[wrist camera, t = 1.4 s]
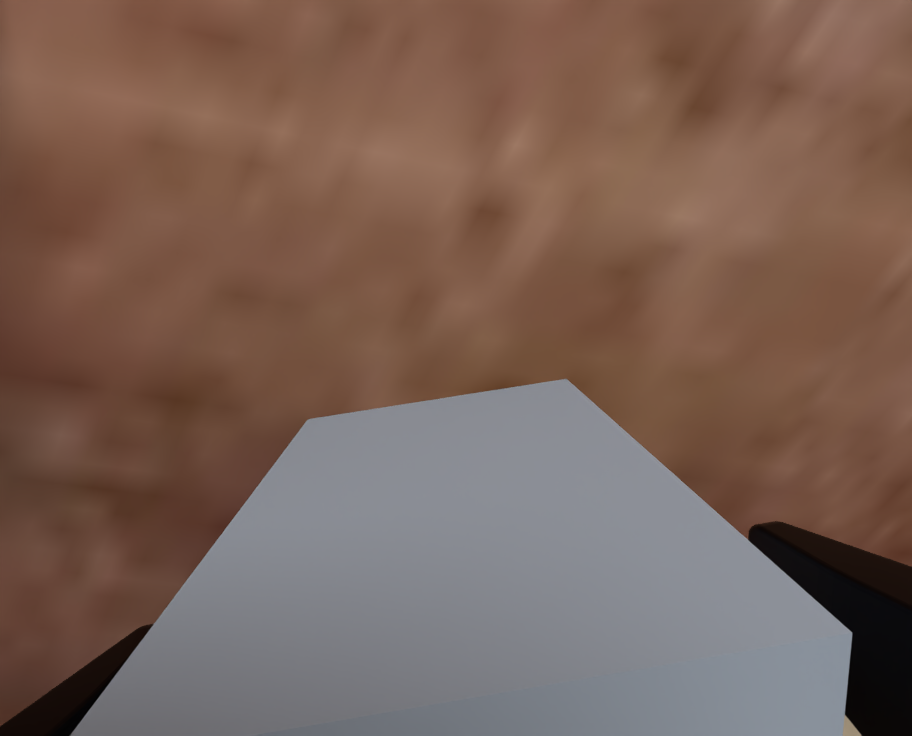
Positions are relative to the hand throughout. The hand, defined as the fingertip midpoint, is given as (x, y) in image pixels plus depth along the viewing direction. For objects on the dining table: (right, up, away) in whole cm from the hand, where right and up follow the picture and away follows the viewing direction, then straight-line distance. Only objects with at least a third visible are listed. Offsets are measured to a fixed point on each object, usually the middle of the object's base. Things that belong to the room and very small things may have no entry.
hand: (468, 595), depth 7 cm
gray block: (0, +1, +2) cm, 2 cm away
